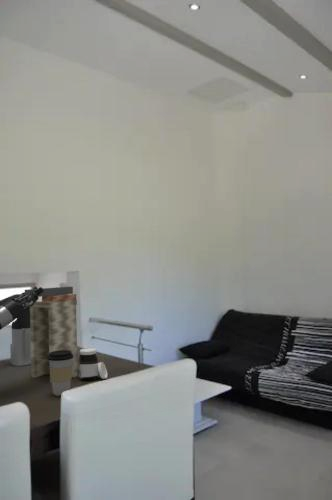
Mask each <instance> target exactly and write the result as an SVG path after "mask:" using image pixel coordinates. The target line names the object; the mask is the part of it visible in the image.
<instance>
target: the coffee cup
mask: <svg viewBox="0 0 332 500" xmlns="http://www.w3.org/2000/svg"><path fill="white" fill-rule="evenodd" d="M73 357H74V356H73V354H72V353H71V351H69V350H59V351H53V352H50V353H49V356H48V358H47V359H48V360H49V363H50V366H49V367H50V374H49V376H50V375H51V381H52V382H51V385H52V393H53V395H54V396H58V397H59V396H60V395H61V393H62V392H63V391H66V390H69V389H70V390H71V385H72V383H71V382H72V378H71V376H72V358H73Z"/></svg>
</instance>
